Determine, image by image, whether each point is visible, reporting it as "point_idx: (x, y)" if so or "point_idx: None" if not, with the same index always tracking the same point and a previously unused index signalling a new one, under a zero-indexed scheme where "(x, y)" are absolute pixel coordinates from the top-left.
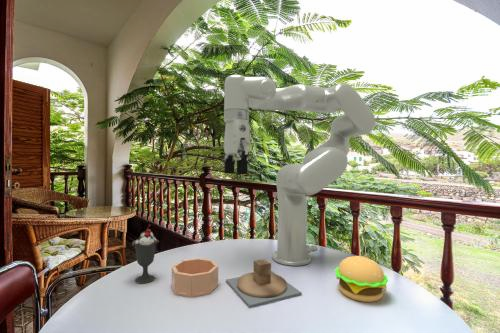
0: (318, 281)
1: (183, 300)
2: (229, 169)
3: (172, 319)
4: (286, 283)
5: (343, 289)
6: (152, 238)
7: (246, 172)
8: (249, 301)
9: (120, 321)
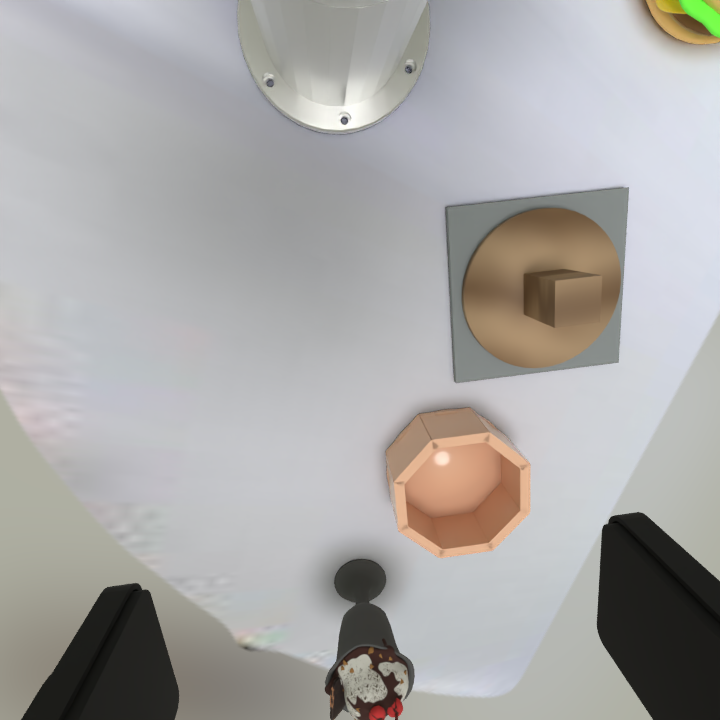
0: (574, 62)
1: None
2: (148, 703)
3: (577, 519)
4: (587, 217)
5: (704, 38)
6: (392, 676)
7: (649, 533)
8: (602, 356)
9: (541, 602)
